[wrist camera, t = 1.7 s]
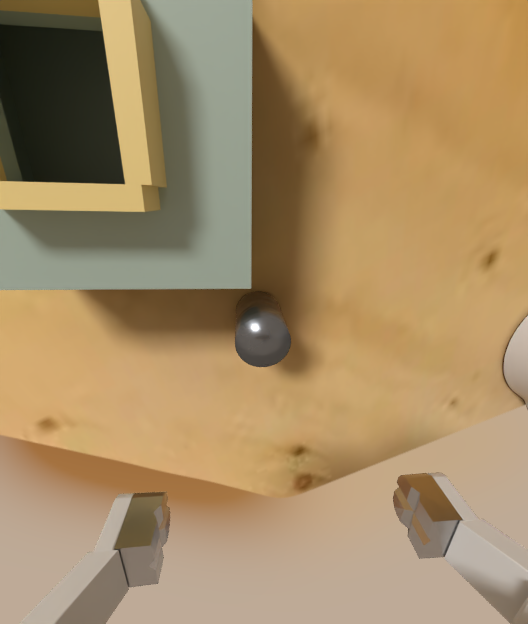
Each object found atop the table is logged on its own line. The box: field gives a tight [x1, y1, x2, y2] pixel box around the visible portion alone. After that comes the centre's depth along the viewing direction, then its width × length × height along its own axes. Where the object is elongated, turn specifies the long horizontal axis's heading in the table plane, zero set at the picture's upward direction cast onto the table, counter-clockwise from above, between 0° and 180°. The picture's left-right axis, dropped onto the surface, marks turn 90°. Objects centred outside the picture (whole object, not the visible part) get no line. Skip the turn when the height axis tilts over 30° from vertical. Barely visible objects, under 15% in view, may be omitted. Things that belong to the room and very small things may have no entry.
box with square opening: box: [0, 0, 252, 290], centre depth 15 cm, size 16×16×12 cm
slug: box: [235, 291, 291, 367], centre depth 23 cm, size 4×4×6 cm
